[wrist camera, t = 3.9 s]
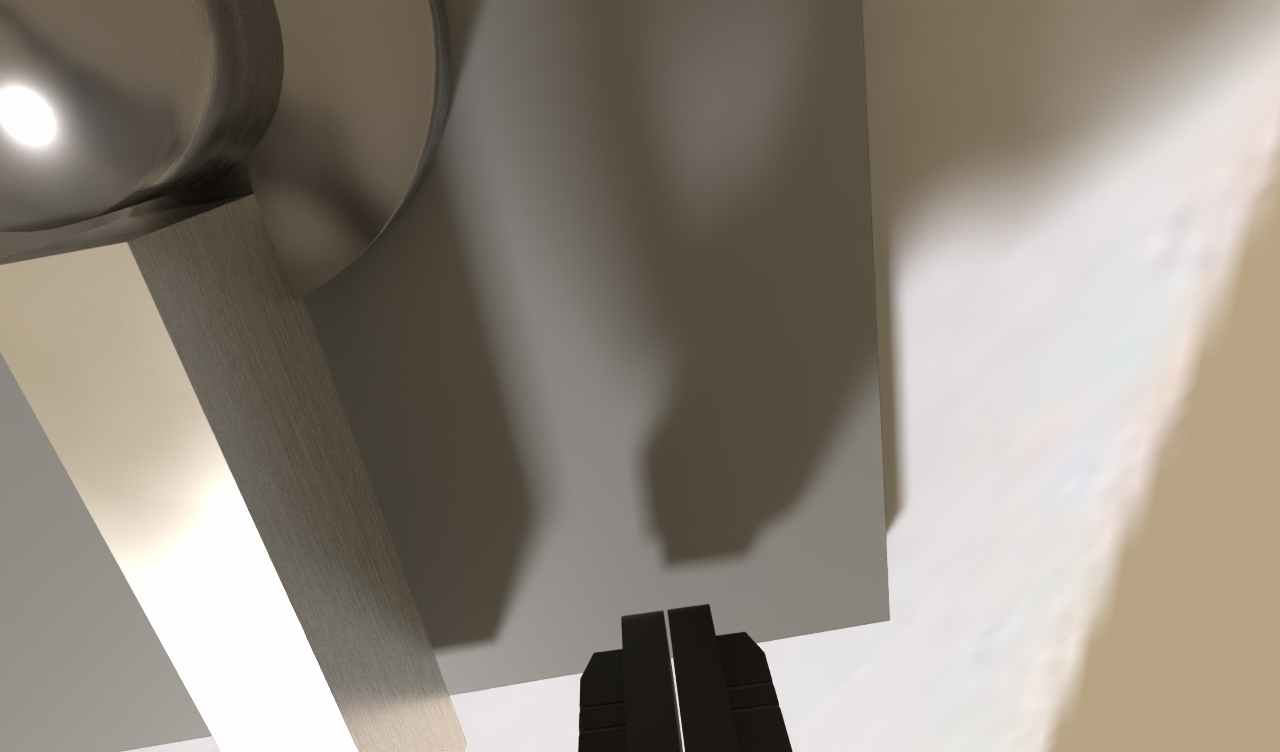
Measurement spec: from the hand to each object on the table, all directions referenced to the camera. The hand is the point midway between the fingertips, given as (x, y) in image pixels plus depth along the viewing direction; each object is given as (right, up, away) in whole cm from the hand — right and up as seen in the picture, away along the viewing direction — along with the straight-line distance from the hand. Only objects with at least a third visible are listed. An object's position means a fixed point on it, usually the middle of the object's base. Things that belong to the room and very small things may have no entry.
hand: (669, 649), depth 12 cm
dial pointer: (-6, +5, -1) cm, 8 cm away
